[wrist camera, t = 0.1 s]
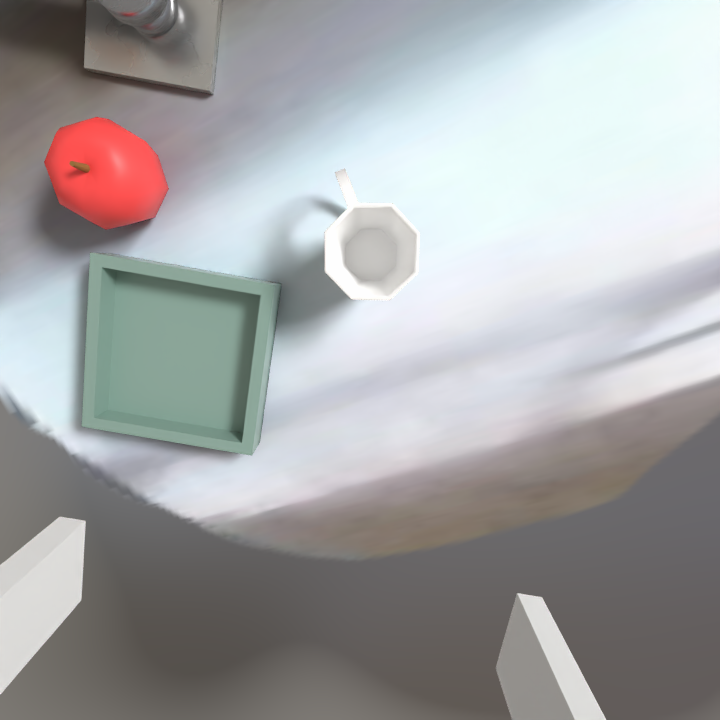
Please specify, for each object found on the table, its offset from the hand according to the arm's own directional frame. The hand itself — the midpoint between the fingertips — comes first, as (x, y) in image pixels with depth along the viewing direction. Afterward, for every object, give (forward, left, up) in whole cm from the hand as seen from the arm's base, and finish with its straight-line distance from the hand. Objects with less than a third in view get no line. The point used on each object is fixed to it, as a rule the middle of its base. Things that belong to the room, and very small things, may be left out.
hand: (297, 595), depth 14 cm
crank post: (-26, -19, -28) cm, 43 cm away
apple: (-13, -20, -28) cm, 37 cm away
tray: (0, -14, -28) cm, 31 cm away
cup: (-12, 0, -28) cm, 31 cm away
